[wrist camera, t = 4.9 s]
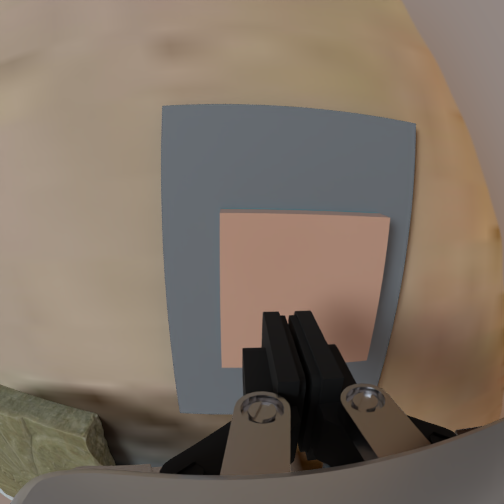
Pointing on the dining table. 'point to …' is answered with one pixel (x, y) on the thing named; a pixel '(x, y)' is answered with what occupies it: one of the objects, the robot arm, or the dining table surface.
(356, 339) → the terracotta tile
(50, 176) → the dining table surface
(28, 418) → the decorative tile
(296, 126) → the rubber mat
